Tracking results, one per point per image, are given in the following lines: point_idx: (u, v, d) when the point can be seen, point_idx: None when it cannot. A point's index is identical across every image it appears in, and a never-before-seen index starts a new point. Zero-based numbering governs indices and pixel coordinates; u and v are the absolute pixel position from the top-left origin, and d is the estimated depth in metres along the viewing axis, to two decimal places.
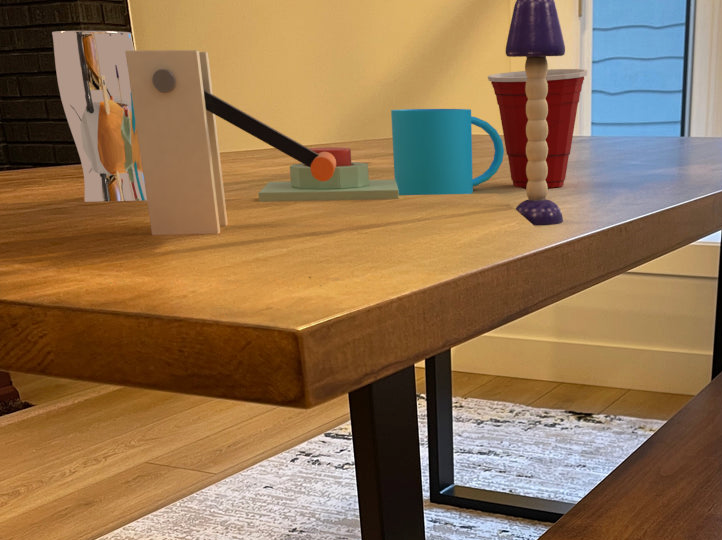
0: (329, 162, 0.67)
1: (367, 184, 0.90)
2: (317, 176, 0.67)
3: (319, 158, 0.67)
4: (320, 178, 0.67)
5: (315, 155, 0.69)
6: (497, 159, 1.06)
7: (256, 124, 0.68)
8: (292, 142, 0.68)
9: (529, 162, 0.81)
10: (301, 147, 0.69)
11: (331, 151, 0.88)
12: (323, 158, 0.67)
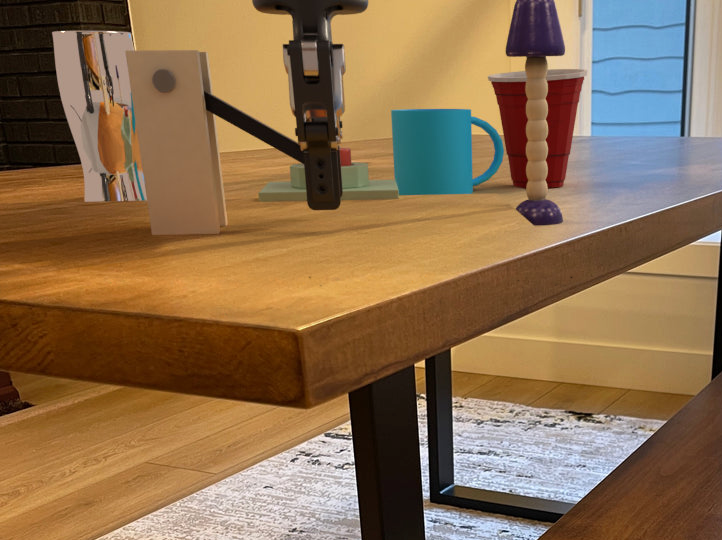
0: None
1: (367, 184, 0.90)
2: None
3: None
4: None
5: None
6: (497, 159, 1.06)
7: (256, 124, 0.68)
8: (292, 142, 0.68)
9: (529, 162, 0.81)
10: None
11: None
12: None
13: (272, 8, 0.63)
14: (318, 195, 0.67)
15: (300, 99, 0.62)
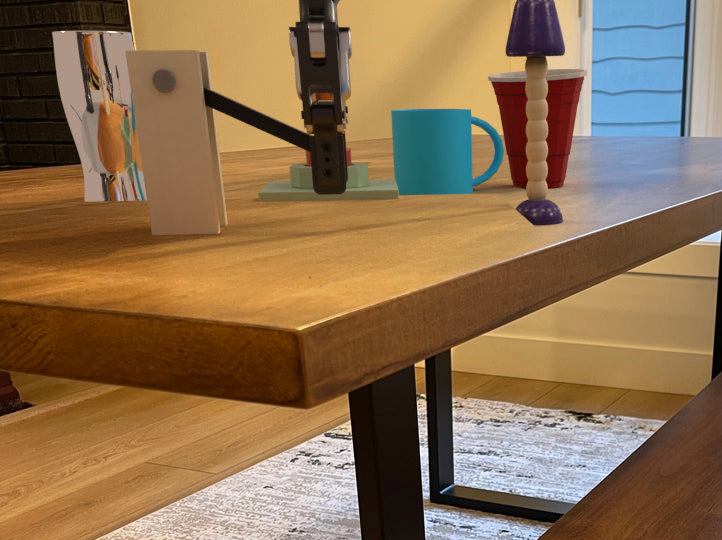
0: None
1: (367, 184, 0.90)
2: None
3: None
4: None
5: None
6: (497, 159, 1.06)
7: (259, 116, 0.67)
8: (296, 131, 0.68)
9: (529, 162, 0.81)
10: (305, 135, 0.68)
11: None
12: None
13: None
14: (324, 179, 0.66)
15: (307, 81, 0.62)
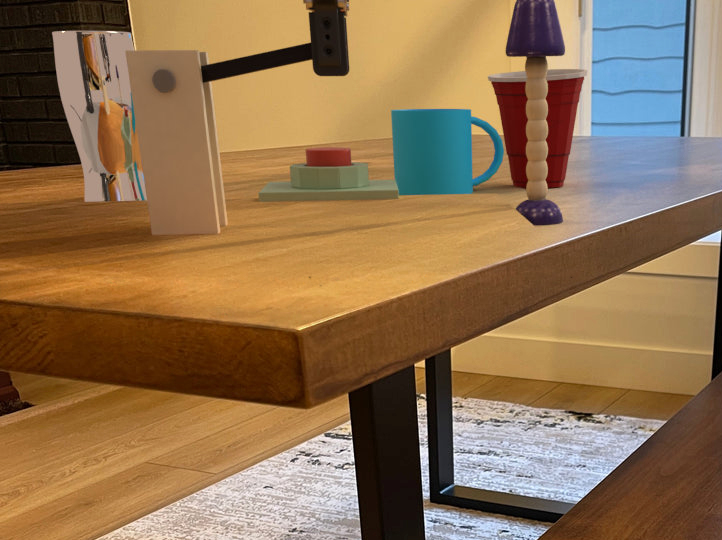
0: None
1: (367, 184, 0.90)
2: None
3: None
4: None
5: None
6: (497, 159, 1.06)
7: (257, 57, 0.66)
8: (295, 47, 0.66)
9: (529, 162, 0.81)
10: (304, 45, 0.66)
11: (331, 151, 0.88)
12: None
13: None
14: (324, 58, 0.63)
15: None
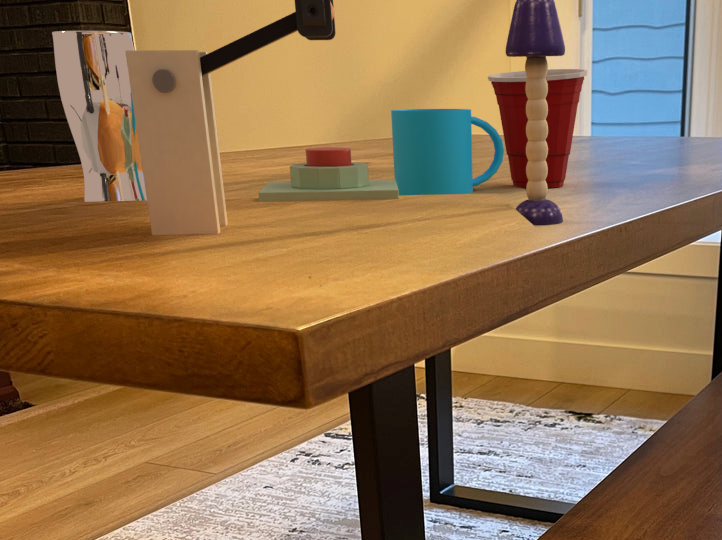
0: None
1: (367, 184, 0.90)
2: None
3: None
4: None
5: None
6: (497, 159, 1.06)
7: (249, 38, 0.65)
8: (283, 19, 0.65)
9: (529, 162, 0.81)
10: (292, 14, 0.65)
11: (331, 151, 0.88)
12: None
13: None
14: (308, 18, 0.62)
15: None
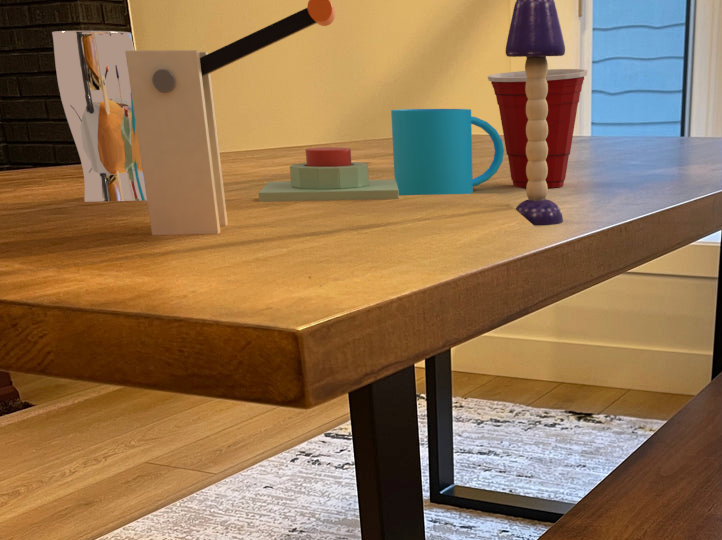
0: None
1: (367, 184, 0.90)
2: (323, 17, 0.64)
3: (309, 2, 0.63)
4: (326, 16, 0.64)
5: (307, 9, 0.65)
6: (497, 159, 1.06)
7: (249, 38, 0.65)
8: (284, 20, 0.65)
9: (529, 162, 0.81)
10: (293, 15, 0.65)
11: (331, 151, 0.88)
12: None
13: None
14: None
15: None
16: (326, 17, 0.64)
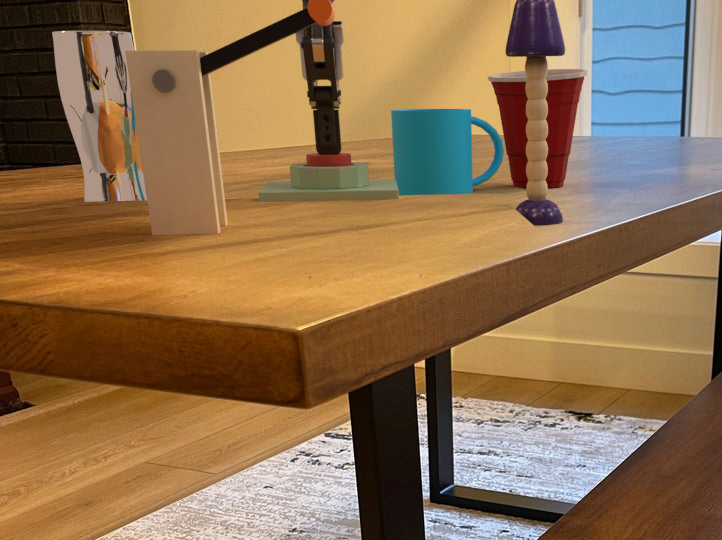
0: None
1: (367, 184, 0.90)
2: (323, 17, 0.64)
3: (309, 2, 0.63)
4: (326, 16, 0.64)
5: (307, 9, 0.65)
6: (497, 159, 1.06)
7: (249, 38, 0.65)
8: (284, 20, 0.65)
9: (529, 162, 0.81)
10: (293, 15, 0.65)
11: (331, 156, 0.88)
12: None
13: None
14: (324, 143, 0.88)
15: (311, 78, 0.83)
16: (326, 17, 0.64)
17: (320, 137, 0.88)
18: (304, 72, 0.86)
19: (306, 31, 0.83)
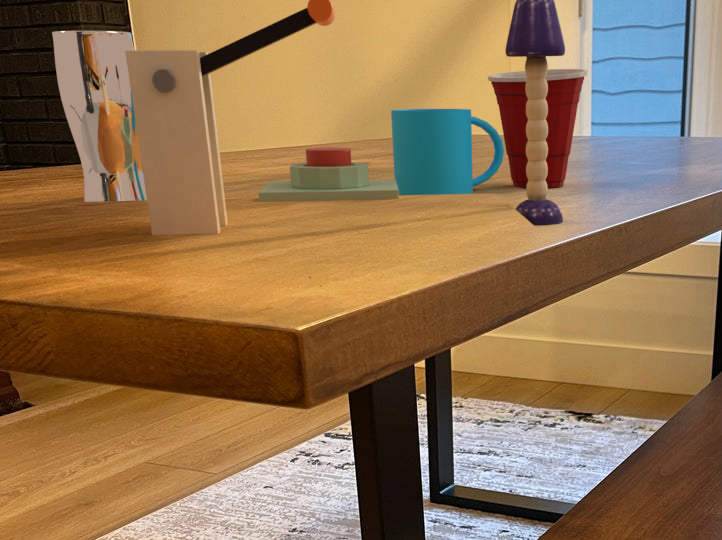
0: None
1: (367, 184, 0.90)
2: (323, 17, 0.64)
3: (309, 2, 0.63)
4: (326, 16, 0.64)
5: (307, 9, 0.65)
6: (497, 159, 1.06)
7: (249, 38, 0.65)
8: (284, 20, 0.65)
9: (529, 162, 0.81)
10: (293, 15, 0.65)
11: (331, 151, 0.88)
12: None
13: None
14: None
15: None
16: (326, 17, 0.64)
17: None
18: None
19: None
